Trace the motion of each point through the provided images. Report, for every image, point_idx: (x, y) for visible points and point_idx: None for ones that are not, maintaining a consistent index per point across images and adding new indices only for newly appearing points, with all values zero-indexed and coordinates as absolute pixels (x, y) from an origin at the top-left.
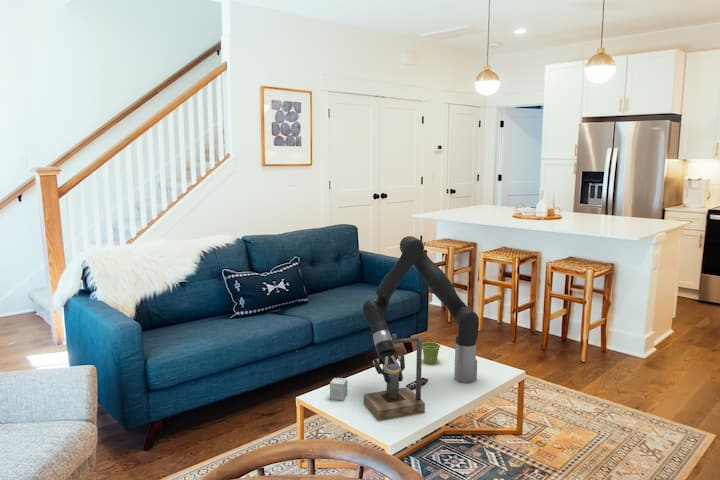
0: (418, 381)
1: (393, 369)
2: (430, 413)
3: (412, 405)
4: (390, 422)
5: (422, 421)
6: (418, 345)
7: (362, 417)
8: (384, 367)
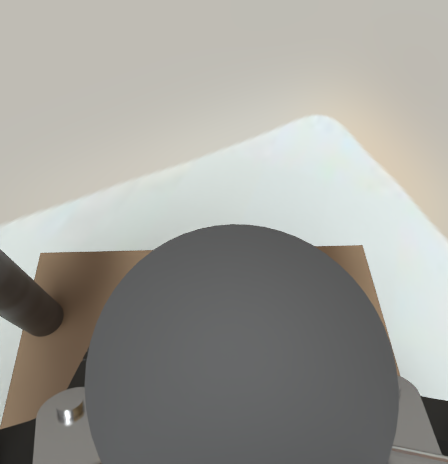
0: None
1: (275, 242)
2: None
3: (134, 251)
4: None
5: (132, 202)
6: None
7: (424, 329)
8: (435, 455)
